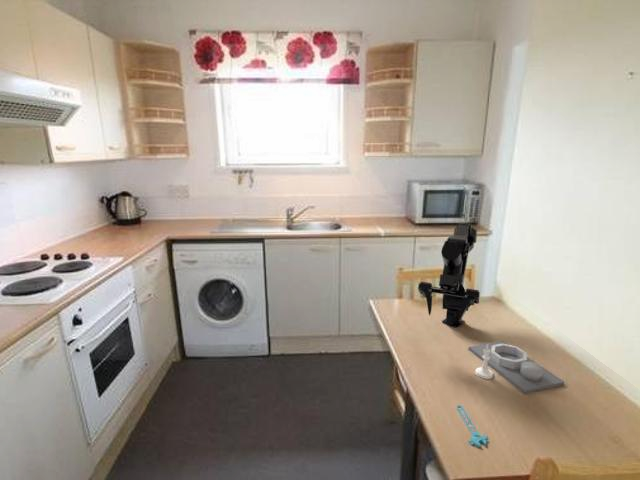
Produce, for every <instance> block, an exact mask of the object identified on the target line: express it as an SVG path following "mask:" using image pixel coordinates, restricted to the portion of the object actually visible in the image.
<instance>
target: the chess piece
mask: <svg viewBox="0 0 640 480" xmlns="http://www.w3.org/2000/svg"><path fill="white" fill-rule="evenodd" d="M486 344H487V343H486ZM483 352H484V355H483V356H482V358H483V359H484V361H482V365H481V367H477V368H476V369H475V374H476V375H477V376H478V377H479V378H482V379H485V380H489V379H492V378H493V377H494V373H493V371H492V370H491V369H489V367H488V366H489V365H488V360H489V359H490V357H489V356H488V355H489V353H490V350H489V349H488V344H487V346H486V349H483Z"/></svg>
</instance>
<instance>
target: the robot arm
mask: <svg viewBox="0 0 640 480" xmlns="http://www.w3.org/2000/svg"><path fill="white" fill-rule="evenodd" d="M477 238H478V231H477V229H475V228H474V227H473V226H472V224H471V223H462V222H460V223H457V225H456V227H455V228H454V231H453V235H449V237H447V239H446V240H445V241H444V243H443V245H442V248H441V252H440V253H441V257H442V262H443V267H442V268H443V269H442V272H441V274H439V282H438V286H439V287H437V286H433V284H432V282H427V281H425V282H424V281H420V282H419V283H418V286H417V289H418V292H419V295H422V297H423V298H425V299H426V302H427V303H426V305H427V311H428V316H431V313H432V309H433V308H432V305H433V293H434V294H439V295H440V294H441V295H442V307H443V308H442V309H446V315H445V319H442V320H441V322H442V323H444V324H446V325H447V326H452V327H455V328H459V327H461V326H462V325H464V324H465V323H466V321H465V320H463V317H464V315H465V314H466V312H468V311H469V308H470V307H471V306H475V304H477V305H479V304H480V299H481V297H480V296H481V293H480V291H479V289H474V288H473V289H472V288H466V289H465V287H464V281H465V276H466V269H467V263H468V258H469V253H470V252H471V251H472V250H473V249H474V247H475V244H476V243H477V241H478V240H477Z"/></svg>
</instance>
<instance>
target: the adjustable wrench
mask: <svg viewBox="0 0 640 480" xmlns="http://www.w3.org/2000/svg"><path fill="white" fill-rule="evenodd" d="M455 408H456V411H458V413H459V414H460V416H461V418H462V420H463V423H465V425H466V426H467V428H468V431H469V432H470V435H471V439H470V440H468V443H469V444H470V446H475V447H476V446H477V447H476V448H479V447H481V448H482V447H483V446H484V447H486V446H487V443H489V439H488V435H484V434H480V433H479V431H478V430H477V429H476V427H475V426H474V424H473V421H471V418H470V417H469V415H468V414H467V412H466V410H465V408H464V407H463V406H462V405H456V407H455ZM462 410H463V411H464V413H465V414H464V413H463V411H462ZM461 411H462V413H463V414H462V413H461ZM466 416H467V417H466ZM472 428H473V430H474V431H472ZM482 445H483V446H482Z"/></svg>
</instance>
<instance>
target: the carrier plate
mask: <svg viewBox="0 0 640 480" xmlns="http://www.w3.org/2000/svg"><path fill="white" fill-rule="evenodd" d="M487 344H488V349H489V350H490V353H489V355H488V356H489V357H490V359H489V360H488V366H489V367H490V368H491V369H492V370H494V371H495V372H496V373H498V374H499V375H500V376H501V377H503V379H505V380H507V382H508V383H510V384H511V385H512V386H514V387H515V389H516V388H517V390H519V391H521V392H522V394H523V395H524V394H529V393H534V392H538V391H543V390H546V389H552V388H556V387H560V386H564V385H565V380H563V379H561V378H559V377H558V376H557V375H555V374H554V373H552V372H551V371H549V370H548V369H546V368H545V367H543V366H542V365H540V364H539V363H538V362H536V361H534V359H533V360H532V359H531V358H530V357H529V356H528V353H527V352H526V351H524V350H522V349H521V348H520V347H518V346H515V345H512V344H511V345H510V344H509V343H507V341H504V340H499V341H494V342H486V343H481V344H475V345H472V346H468V348H467V350H469V351H470V352H471V353H472V354H474V355H475V356H476V357H477V358H478V359H480V360H481V361H482V362H483V361H484V359H483V358H482V356H483V355H484V352H483V349H486V346H487Z"/></svg>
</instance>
